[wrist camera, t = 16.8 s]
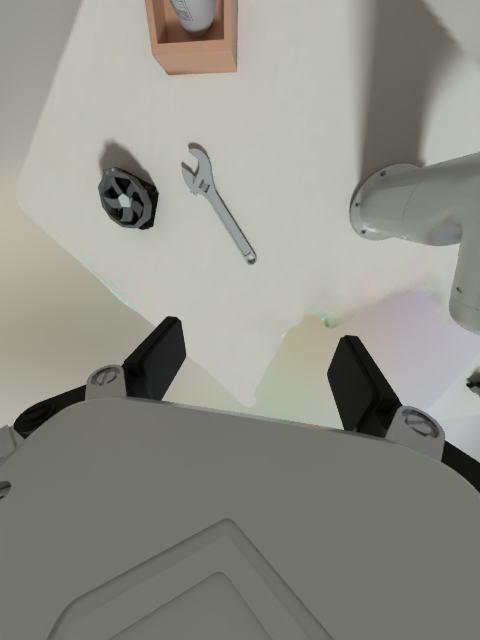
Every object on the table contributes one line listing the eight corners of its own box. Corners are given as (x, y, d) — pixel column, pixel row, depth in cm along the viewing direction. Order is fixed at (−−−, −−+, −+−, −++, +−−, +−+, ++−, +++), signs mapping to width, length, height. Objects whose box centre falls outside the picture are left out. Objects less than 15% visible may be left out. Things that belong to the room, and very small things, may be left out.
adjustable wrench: (259, 260, 47) (259, 262, 45) (237, 271, 49) (236, 273, 47) (202, 144, 37) (199, 142, 35) (178, 166, 39) (174, 164, 38)
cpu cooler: (140, 236, 42) (96, 214, 41) (154, 233, 47) (115, 213, 46) (148, 185, 36) (97, 157, 35) (163, 187, 41) (118, 163, 40)
